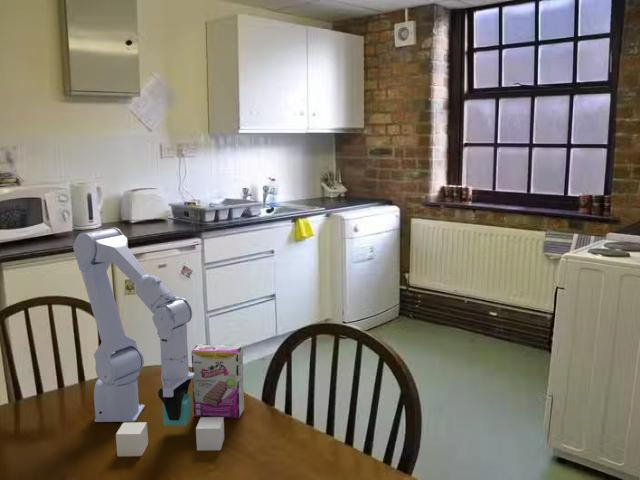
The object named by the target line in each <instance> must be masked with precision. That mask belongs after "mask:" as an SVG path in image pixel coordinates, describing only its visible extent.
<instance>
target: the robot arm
mask: <svg viewBox="0 0 640 480" xmlns="http://www.w3.org/2000/svg"><path fill="white" fill-rule="evenodd" d="M72 248H73V252H74V255H75V259H76V262H77V265H78V269H79V271H80V273H81V276H82V280H83V283H84V286H85V289H86V293H87V296H88V300H89V303H90V307H91V310H92V311H91V312H92V314H93V318H94V320H95V324H96V327H97V331H98V334H99V338H100V341H101V343H100V345H99V346H98V347H97V348H96V350H95V352H94V353H93V356H94V360H95V373H96V376H97V378H98V379H97V380H96V382H95V385H94V388H93V401H94V402H93V403H94V412H95V413H94V414H95V415H94V416H95V418H94V422H95V423H114V422H115V423H117V422H119V423H121V422H123V423H129V422H136V421H137V420H138V418H139V417H140V415H141V413H142V411H143V410H144V408H145V404H139V388H138V386H139V385H138V377H139V376H140V371H141V370H142V369H143V367H144V365H145V360H144V355H143V353H142V351H141V350H140V349H139V347H138V344H137V341H136V339H134V338H131V337H129V336H127V335H126V333H125V330H124V327H123V323H122V320H121V316H120V313H119V309H118V305H117V303H116V299H115V296H114V292H113V288H112V285H111V281H110V279H109V276H108V270H109V268H110V266H111V265H112V264H113V265H114V266H116V267H117V269H119V270H120V271H121V273H123V274H124V275H125V276H126V278H128V279H129V280H130V281H131V282H132V283H133V284H134V286H135V289H134V293H135V294H136V296H137V297H138V298H139V299H140V301H142V303H143V304H144V305H145V306H146V307H147V308H148V309H149V311H150V312H151V313H152V314H153V315H152V321H153V324H154V326H155V328H156V332H157V335H158V338H159V343H160V344H159V345H160V362H161V363H160V365H161V375H160V379H161V384H162V387H163V388H159V390H158V392H157V395H158V397H159V399H160V400H161V402H162V405H163V404H164V406H165V408H166V411H167V415H168V418H169V420H170V421H171V420H179V419H180V414H181V405H182V400H183V396H184V394H189V393H188V391H189V387H190V384H191V382H192V381H193V378H194V373H193V372H192V371H191V372H190V370H189V369H190V368H189V346H188V343H189V342H188V325H187V324H188V323H190V322H191V319H192V317H193V310H192V307H191V305H190V304H189V302H188V300H187V299H186V298H184V297H178V296H177V295H174V294H173V293H172V292H171V290H169V288H168V287H167V286H166V285H165V284H164V283H163V282H162V280H161V278H160V277H159V276H157V275H150V274H148V273H147V271H146V270H145V269H144V267H143V265H141V263H140V262H139V260H138V259H137V258H136V257H135V255H134V253H133V252H132V251H131V249H130V248H129V242H128V237H126V236H125V235H124V233H123V232H122V230H121V229H119V228H118V227H116V226H115V227H110V228H107V229H101V230H96V231H90V232H80V233H79V234H77V236H76V238H75V240H74V243H73V245H72Z"/></svg>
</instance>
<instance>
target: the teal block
mask: <svg viewBox="0 0 640 480" xmlns="http://www.w3.org/2000/svg"><path fill="white" fill-rule="evenodd" d="M191 396H192V395H191V393H187V394H184V396H183V400H182V405H181V414H180V419H179V420H171V421H170V420H169V418H168V415H167V411H166V408H165V406H164V404H163V403H162V420H163V426H164V427H165V426H170V427H171V426H187V425H188V424H189V421H190V419H191V416H192V402H191V401H192V400H191Z"/></svg>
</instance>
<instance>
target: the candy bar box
mask: <svg viewBox="0 0 640 480" xmlns="http://www.w3.org/2000/svg"><path fill="white" fill-rule="evenodd" d="M243 353H244V351H243V345H228V344H227V345H225V344H224V345H221V344H200V343H198V344H196V345H195V347H194V348H193V349H192V350H191V372H193V373H194V378H193V379H192V399H193V401H192V402H193V403H192V404H193V417H224V419H225V418H226V419H227V418H228V419H240V417H241V416H242V414H243V412H244V410H245V400H244V398H245V397H244V396H245V395H244V393H245V392H244V359H243V358H244V355H243Z"/></svg>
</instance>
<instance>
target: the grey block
mask: <svg viewBox="0 0 640 480" xmlns="http://www.w3.org/2000/svg"><path fill="white" fill-rule="evenodd" d="M224 420H225V418H224V417H200V418H199V420H198V423H197V425H196V427H195V437H196V438H195V439H196V451H221V450H222V447H223V443H224V441H225V421H224Z"/></svg>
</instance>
